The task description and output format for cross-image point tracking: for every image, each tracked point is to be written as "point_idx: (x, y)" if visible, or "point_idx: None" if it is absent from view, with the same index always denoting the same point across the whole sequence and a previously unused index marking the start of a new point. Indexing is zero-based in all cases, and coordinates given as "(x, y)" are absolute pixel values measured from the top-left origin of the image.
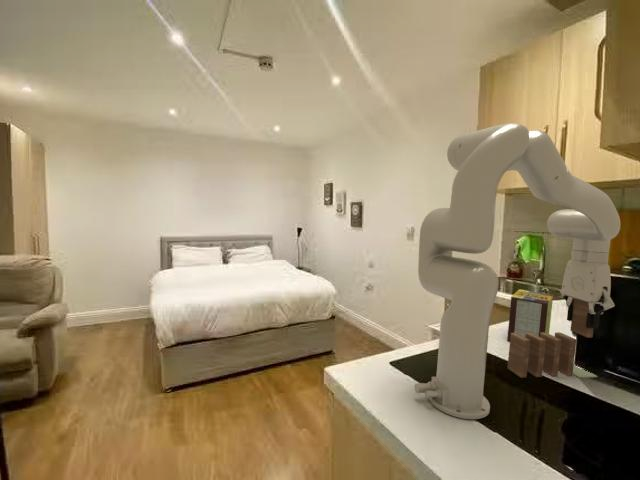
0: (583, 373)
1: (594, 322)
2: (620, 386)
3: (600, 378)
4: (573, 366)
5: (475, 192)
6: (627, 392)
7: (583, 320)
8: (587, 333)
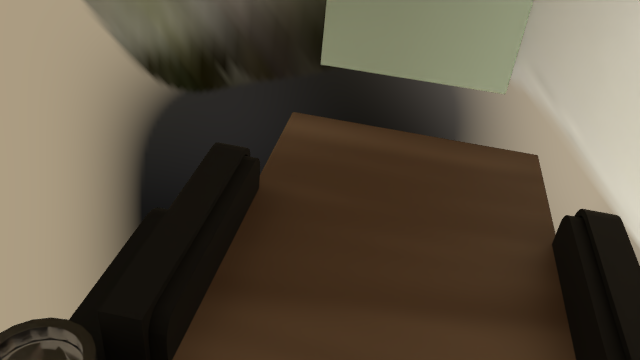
0: (369, 3)
1: (137, 246)
2: (209, 77)
3: (306, 65)
4: (474, 45)
5: None
6: (145, 39)
7: (330, 254)
8: (282, 138)
